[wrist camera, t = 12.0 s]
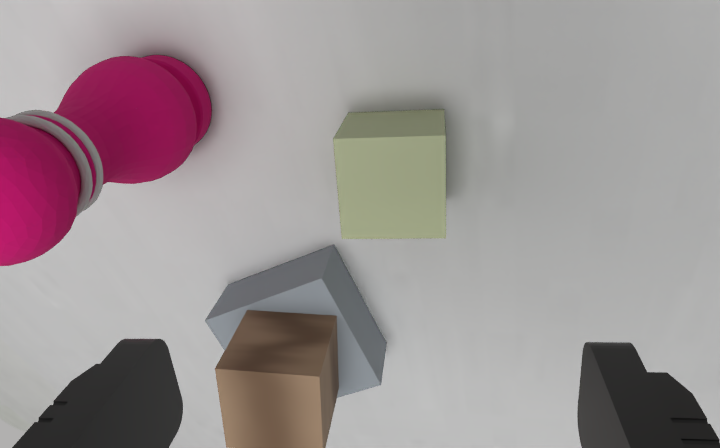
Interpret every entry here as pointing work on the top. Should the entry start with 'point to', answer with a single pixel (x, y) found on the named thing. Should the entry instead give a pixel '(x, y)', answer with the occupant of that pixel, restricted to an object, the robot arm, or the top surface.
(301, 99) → the top surface
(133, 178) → the pepper mill
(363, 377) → the slate base block
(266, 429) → the walnut block
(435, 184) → the olive block
